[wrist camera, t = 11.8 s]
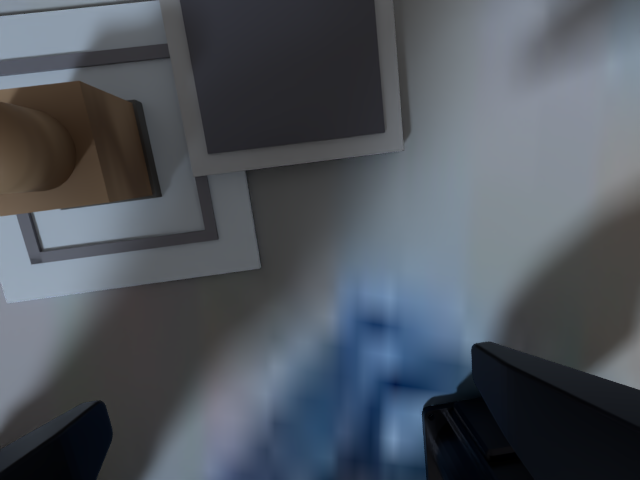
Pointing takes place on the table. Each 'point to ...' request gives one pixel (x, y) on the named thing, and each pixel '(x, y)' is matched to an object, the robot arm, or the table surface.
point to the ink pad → (284, 81)
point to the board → (168, 151)
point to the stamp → (72, 149)
